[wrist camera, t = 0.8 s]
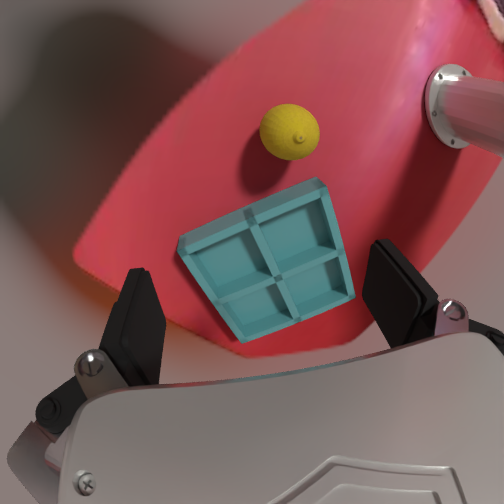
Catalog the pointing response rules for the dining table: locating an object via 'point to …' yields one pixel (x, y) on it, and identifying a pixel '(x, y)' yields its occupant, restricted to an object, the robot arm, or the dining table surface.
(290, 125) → the lemon
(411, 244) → the dining table surface
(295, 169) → the dining table surface
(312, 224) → the square compartment tray
